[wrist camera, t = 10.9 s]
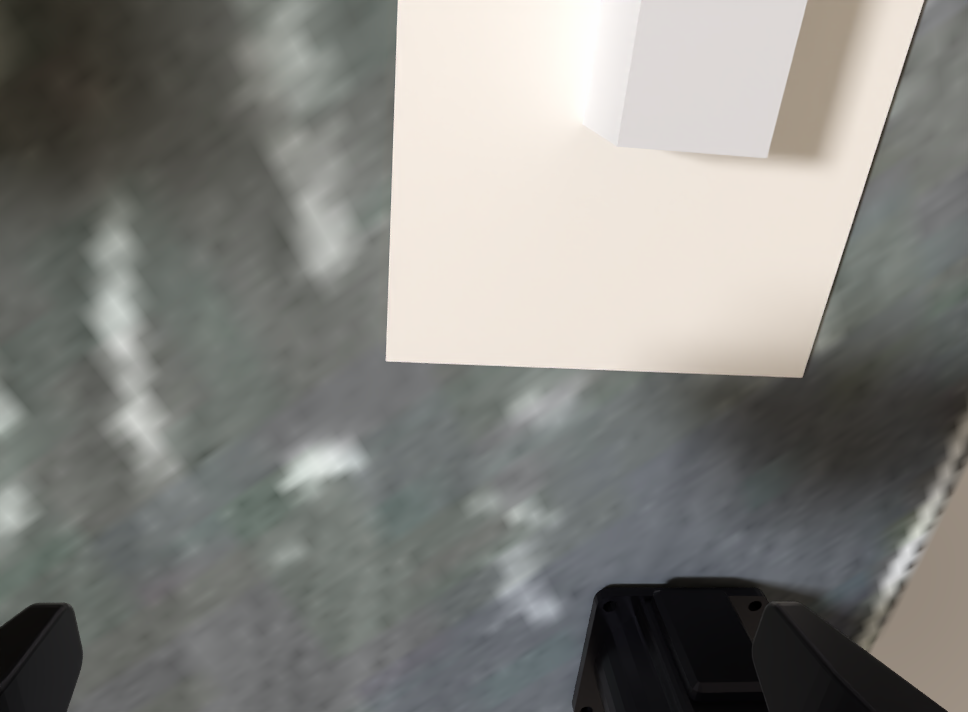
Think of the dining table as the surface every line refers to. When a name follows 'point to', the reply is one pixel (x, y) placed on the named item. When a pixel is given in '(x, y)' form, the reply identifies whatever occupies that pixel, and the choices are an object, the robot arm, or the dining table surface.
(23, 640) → the robot arm
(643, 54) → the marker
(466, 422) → the dining table surface
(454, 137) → the paper
